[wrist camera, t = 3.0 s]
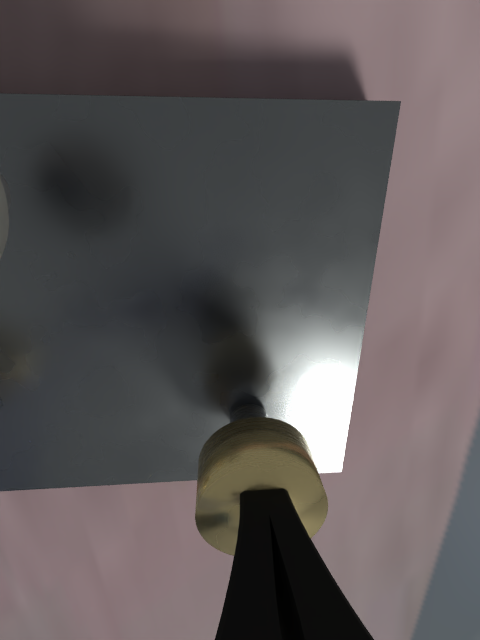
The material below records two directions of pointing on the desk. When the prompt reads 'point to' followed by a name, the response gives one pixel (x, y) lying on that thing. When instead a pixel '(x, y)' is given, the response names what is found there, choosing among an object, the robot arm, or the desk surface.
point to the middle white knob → (4, 213)
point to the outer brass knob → (254, 474)
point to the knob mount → (181, 277)
